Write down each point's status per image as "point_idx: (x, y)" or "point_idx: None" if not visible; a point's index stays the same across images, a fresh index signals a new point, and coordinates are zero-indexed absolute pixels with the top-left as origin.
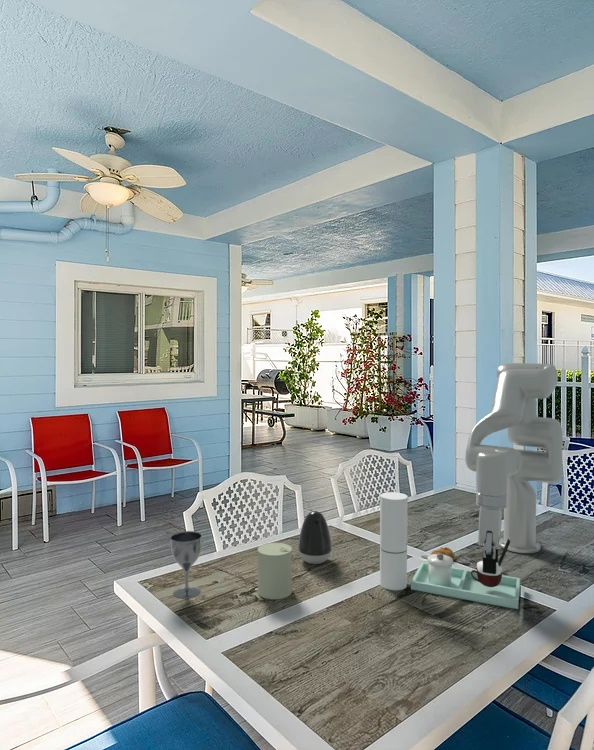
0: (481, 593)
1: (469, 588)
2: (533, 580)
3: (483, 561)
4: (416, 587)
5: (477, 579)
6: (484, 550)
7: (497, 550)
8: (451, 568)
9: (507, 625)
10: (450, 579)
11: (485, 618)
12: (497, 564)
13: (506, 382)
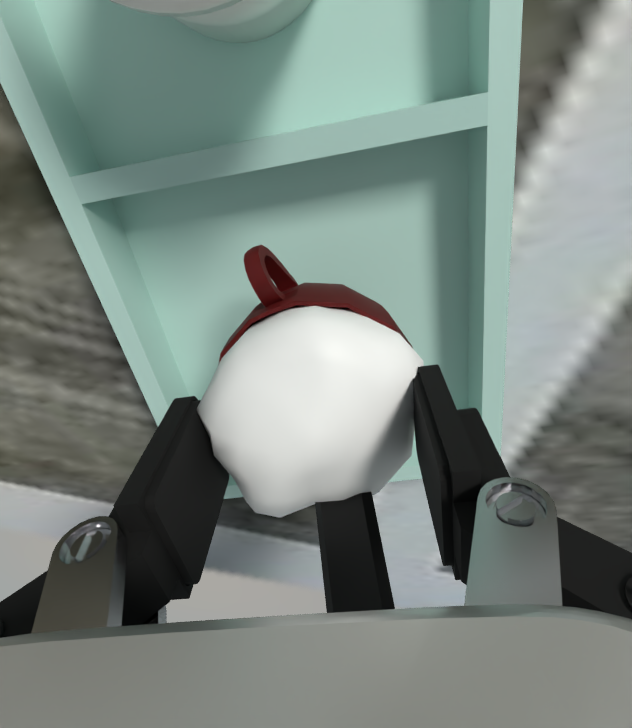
0: (132, 342)
1: (280, 204)
2: (629, 459)
3: (140, 470)
4: None
5: (286, 282)
6: (38, 620)
7: (452, 568)
8: (218, 10)
9: (68, 442)
10: (214, 32)
11: (44, 359)
12: (318, 499)
13: None
